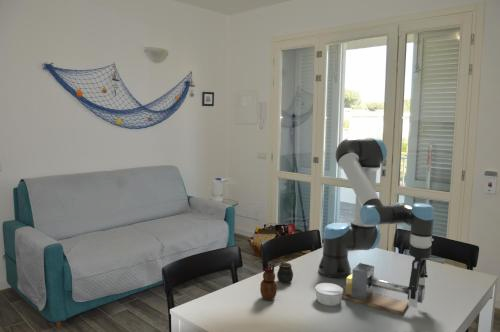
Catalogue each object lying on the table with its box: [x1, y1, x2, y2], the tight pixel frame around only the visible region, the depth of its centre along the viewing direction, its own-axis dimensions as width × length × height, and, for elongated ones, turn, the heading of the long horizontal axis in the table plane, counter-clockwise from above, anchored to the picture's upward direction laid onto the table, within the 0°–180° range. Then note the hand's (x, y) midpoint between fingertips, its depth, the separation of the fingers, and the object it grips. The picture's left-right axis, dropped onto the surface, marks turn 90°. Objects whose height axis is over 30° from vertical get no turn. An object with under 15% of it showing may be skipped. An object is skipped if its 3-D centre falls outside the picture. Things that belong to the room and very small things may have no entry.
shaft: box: [368, 277, 426, 304], centre depth 154 cm, size 25×5×5 cm, turn 56°
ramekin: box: [314, 282, 343, 307], centre depth 158 cm, size 11×11×5 cm
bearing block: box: [351, 262, 375, 301], centre depth 160 cm, size 6×9×12 cm, turn 146°
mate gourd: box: [276, 257, 294, 285], centre depth 176 cm, size 7×8×10 cm
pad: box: [342, 288, 351, 297], centre depth 164 cm, size 5×9×1 cm, turn 146°
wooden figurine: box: [259, 262, 278, 301], centre depth 159 cm, size 7×6×15 cm
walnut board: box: [341, 285, 409, 316], centre depth 159 cm, size 26×10×1 cm, turn 56°
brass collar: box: [345, 272, 352, 296], centre depth 163 cm, size 2×7×7 cm, turn 146°
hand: (416, 299), depth 149 cm, fingers open, 13 cm apart
